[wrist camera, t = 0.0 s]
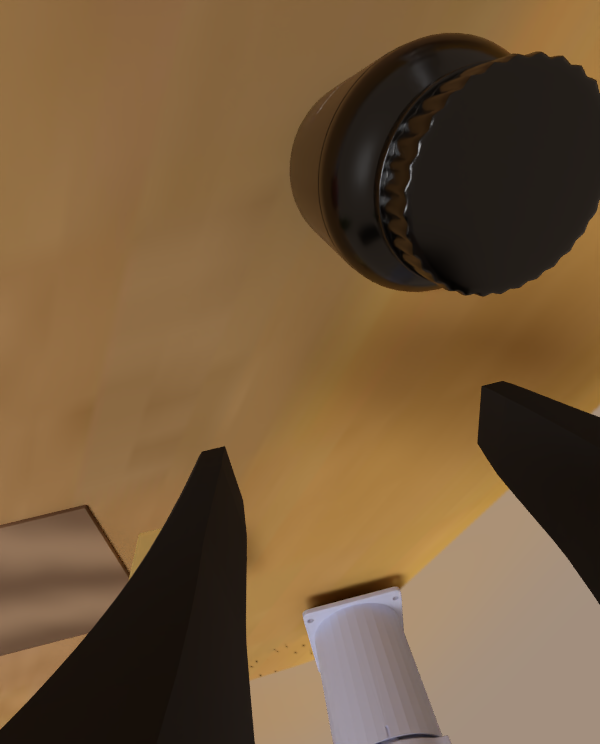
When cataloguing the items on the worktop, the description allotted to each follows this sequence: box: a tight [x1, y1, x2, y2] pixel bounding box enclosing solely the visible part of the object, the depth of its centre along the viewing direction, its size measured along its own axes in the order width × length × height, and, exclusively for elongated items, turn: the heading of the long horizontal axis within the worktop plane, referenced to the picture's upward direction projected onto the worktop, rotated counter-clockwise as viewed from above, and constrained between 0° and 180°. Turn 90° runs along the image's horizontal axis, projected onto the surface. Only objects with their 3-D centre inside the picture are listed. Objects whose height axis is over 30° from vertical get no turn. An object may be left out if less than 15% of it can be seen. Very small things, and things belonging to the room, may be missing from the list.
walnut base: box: [0, 505, 130, 656], centre depth 27 cm, size 12×12×1 cm
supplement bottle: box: [290, 33, 600, 296], centre depth 14 cm, size 7×7×12 cm
